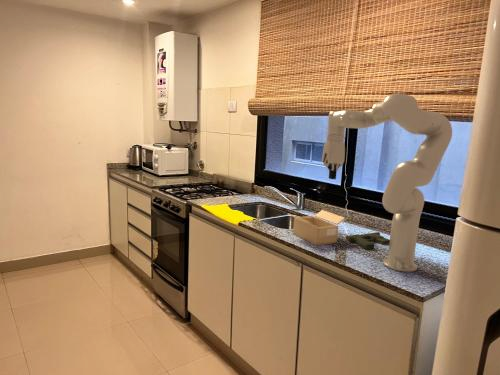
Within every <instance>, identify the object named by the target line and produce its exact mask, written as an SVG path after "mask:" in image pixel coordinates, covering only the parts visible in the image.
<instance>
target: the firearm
mask: <svg viewBox="0 0 500 375" xmlns="http://www.w3.org/2000/svg"><path fill="white" fill-rule="evenodd" d="M345 240H346V241H347V243H351V244H357V245H358V246H359V247H361V249H364V250H367V251H368V250H374V248H375V247H376V246H375V244H374V243H377V244H380V245H382V246H386V245H389V242H390V238H386V237H384V236H383V235H381V233H380V232H379V231H375V232H368V233H363V234H362V233H361V234H359V233H358V234H349V235H345Z"/></svg>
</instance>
